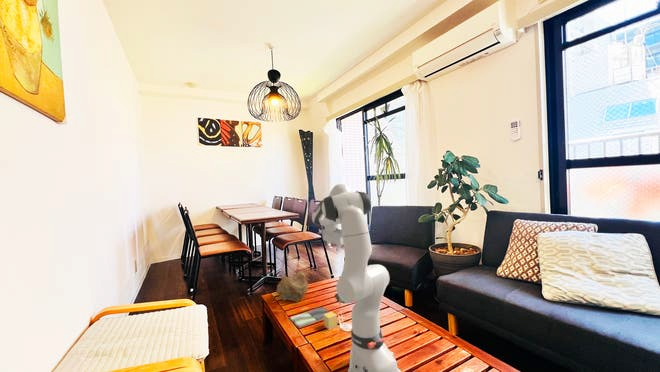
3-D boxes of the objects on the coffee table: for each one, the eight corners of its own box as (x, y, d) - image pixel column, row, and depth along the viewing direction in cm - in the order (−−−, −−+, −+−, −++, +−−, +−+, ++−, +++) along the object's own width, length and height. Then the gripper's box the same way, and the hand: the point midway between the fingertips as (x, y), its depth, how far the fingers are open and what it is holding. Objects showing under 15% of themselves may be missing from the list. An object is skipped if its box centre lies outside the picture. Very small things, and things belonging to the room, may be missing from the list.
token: (337, 326, 139) (336, 315, 139) (329, 329, 136) (328, 318, 136) (332, 322, 143) (331, 311, 143) (323, 325, 140) (323, 314, 140)
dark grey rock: (329, 297, 175) (343, 305, 163) (329, 291, 175) (343, 299, 163) (351, 290, 186) (366, 297, 174) (351, 284, 186) (366, 291, 174)
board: (333, 315, 150) (333, 314, 150) (299, 328, 139) (299, 326, 139) (322, 307, 160) (322, 306, 160) (289, 318, 149) (289, 317, 149)
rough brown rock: (291, 310, 161) (292, 285, 160) (272, 301, 171) (273, 277, 170) (316, 297, 179) (317, 275, 179) (298, 289, 189) (299, 268, 189)
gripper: (346, 229, 160) (347, 252, 160) (328, 225, 177) (329, 246, 177) (338, 230, 156) (339, 254, 157) (320, 226, 174) (321, 247, 174)
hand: (333, 249), depth 167 cm, fingers open, 8 cm apart
